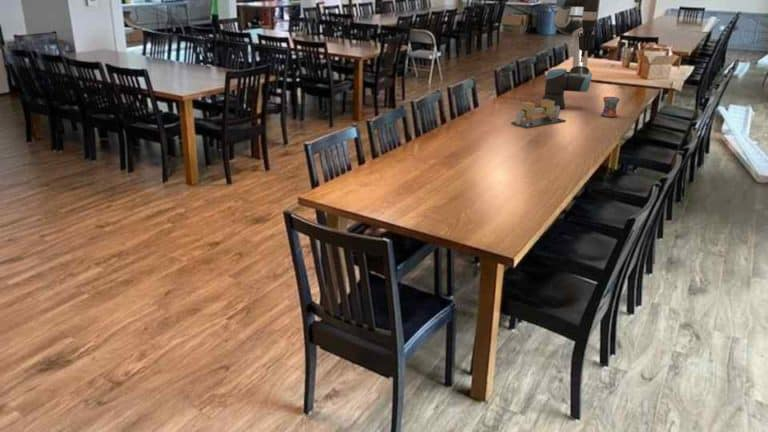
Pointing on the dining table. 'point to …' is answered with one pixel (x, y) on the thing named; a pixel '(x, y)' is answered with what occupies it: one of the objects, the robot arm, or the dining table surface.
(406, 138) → the dining table surface
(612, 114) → the mug
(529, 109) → the dividers bar
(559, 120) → the hole plate
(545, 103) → the block
